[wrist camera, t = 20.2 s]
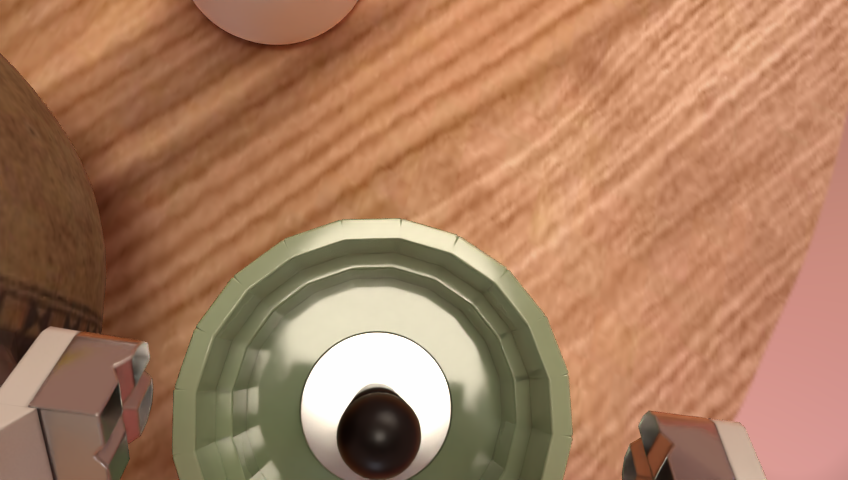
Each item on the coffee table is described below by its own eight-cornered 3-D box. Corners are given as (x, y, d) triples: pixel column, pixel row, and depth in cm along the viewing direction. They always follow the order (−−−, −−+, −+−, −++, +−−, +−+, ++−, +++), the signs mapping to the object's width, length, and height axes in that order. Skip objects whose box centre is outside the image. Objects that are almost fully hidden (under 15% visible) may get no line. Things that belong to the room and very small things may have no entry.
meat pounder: (444, 331, 29) (509, 295, 15) (450, 476, 28) (525, 580, 14) (303, 336, 28) (238, 304, 15) (304, 483, 27) (236, 598, 14)
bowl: (518, 247, 30) (557, 214, 24) (537, 559, 28) (586, 614, 22) (219, 254, 29) (176, 222, 23) (215, 578, 27) (166, 642, 21)
